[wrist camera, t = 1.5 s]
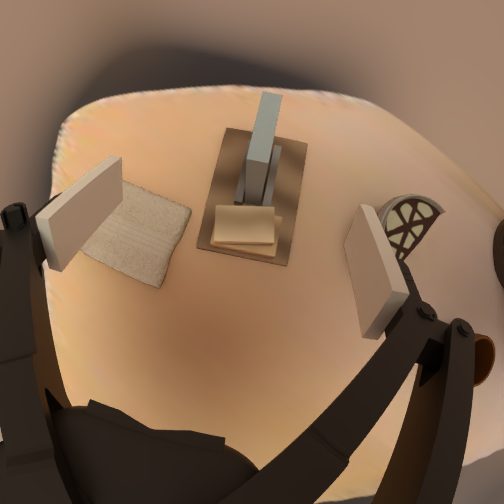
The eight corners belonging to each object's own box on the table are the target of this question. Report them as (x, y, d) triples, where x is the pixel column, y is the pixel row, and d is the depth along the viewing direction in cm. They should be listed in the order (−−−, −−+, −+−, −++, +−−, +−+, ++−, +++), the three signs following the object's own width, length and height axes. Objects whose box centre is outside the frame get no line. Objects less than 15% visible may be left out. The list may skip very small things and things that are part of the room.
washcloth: (96, 171, 41) (88, 164, 38) (196, 210, 41) (192, 204, 38) (65, 241, 40) (54, 237, 37) (162, 290, 40) (155, 289, 36)
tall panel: (259, 206, 40) (268, 163, 26) (244, 203, 40) (246, 159, 26) (270, 153, 41) (282, 95, 27) (256, 150, 41) (262, 91, 27)
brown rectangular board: (286, 266, 40) (289, 264, 37) (197, 248, 40) (194, 244, 37) (306, 146, 42) (310, 137, 39) (226, 130, 42) (226, 120, 39)
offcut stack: (272, 258, 39) (277, 254, 34) (211, 246, 39) (207, 240, 34) (280, 219, 40) (285, 209, 35) (220, 207, 40) (218, 195, 35)
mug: (398, 363, 39) (432, 377, 29) (415, 315, 40) (453, 319, 30) (449, 378, 38) (484, 391, 29) (464, 336, 39) (501, 341, 30)
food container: (384, 195, 42) (417, 171, 32) (409, 225, 41) (447, 208, 32) (331, 249, 41) (358, 236, 31) (360, 281, 40) (393, 278, 30)
